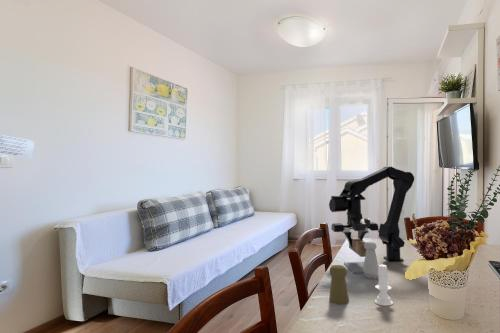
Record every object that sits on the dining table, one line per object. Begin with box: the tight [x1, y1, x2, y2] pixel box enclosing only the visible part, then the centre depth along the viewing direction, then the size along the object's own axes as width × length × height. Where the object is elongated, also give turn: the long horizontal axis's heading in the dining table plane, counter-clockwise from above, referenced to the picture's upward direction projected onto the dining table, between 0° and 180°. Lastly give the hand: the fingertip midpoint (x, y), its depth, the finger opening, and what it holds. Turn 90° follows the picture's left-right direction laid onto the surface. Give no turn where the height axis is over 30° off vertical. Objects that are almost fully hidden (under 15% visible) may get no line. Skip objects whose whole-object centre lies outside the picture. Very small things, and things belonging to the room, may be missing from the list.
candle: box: [374, 263, 394, 307], centre depth 112 cm, size 5×5×12 cm
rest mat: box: [343, 261, 364, 274], centre depth 149 cm, size 14×10×1 cm
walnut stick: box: [348, 235, 367, 258], centre depth 151 cm, size 16×3×5 cm, turn 1°
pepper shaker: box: [328, 264, 350, 305], centre depth 114 cm, size 6×6×11 cm
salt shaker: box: [363, 241, 379, 279], centre depth 137 cm, size 6×6×13 cm
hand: (355, 247), depth 156 cm, fingers closed on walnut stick, 3 cm apart
